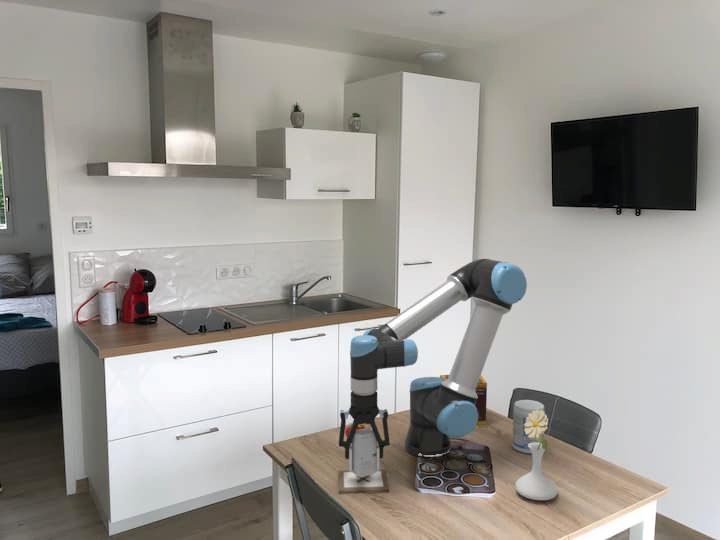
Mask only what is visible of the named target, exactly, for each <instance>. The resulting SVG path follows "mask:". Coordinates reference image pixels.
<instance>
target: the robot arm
mask: <svg viewBox="0 0 720 540" xmlns="http://www.w3.org/2000/svg"><path fill="white" fill-rule="evenodd" d="M527 285H528V282H527V277H526V276H525V273H524V271H523V270H522V268H520V267H519V266H518V265H516V264H514V263H511V262H508V261H499V260H494V259H490V258H480V259H475V260H472V261H471V262H469V263H466V264H465V265H463V266H462V267H460V268H458V269H456V270H455V271H454V272H453V273H450V274H449V275H448V276H447V278H446V281H444V283H442V284H440V285H439V286H438V287H436V288H434V289H433V290H432V291H431V292H429V293H427V294H426V295H425V296H423V297H422V298H421V299H419V300H418V301H416V302H415V303H413V304H412V305H410V306H408V307H407V308H406V309H404V310H403V311H402V312H400V313H399V314H397V315H396V316H394V317H393V318H391V319H390V320H389V321H387V322H385V324H383V325H381V326H380V327H379V328H376V327H375V328H373V327H372V328H369V329H367V330H365V331H364V333H363V334H362V335H361V334H360V335H356V336H353V337H352V338H351V341H350V348H349V349H350V350H349V355H350V360H349V361H350V391H351V392H350V406H349V408H348V410H347V409H346V410H343V409H341V410H340V411H339V416H340V420H341V421H340V427H339V428H340V429H339V435H338V446H339V447H340V448H342V447H343V448H344V459H345V460H348V467H349V468H348V470H349V471H352V444H351V442H352V439H353V437H354V434H355V432H356V429H357V427H358V425H359V424H362V425H365V424H366V425H370V427H371V429H372V430H373V432H374V435H375V437H376V440H377V471H379V470H380V459H383V458H384V447H386V446H387V447H388V446H390V445H391V443H390V435H389V426H388V418H389V412H388V409H387V408H386V409H380V408H379V407H378V370H384V369H393V368H401V367H409V366H414V365H415V364H416V363H417V361H418V357H419V350H418V347H417V343H416V342H415V341H414V340H413V339H410V337H411V336H412V335H414V334H415V333H417V332H418V331H419V330H420V329H423V327H425V326H426V325H428V324H429V323H431V322H432V321H434V320H435V319H437V318H438V317H439V316H440V315H442V314H443V313H446V312H447V311H448V310H449V309H451V308H452V307H454V306H455V305H457V304H458V303H459V302H461V301H462V302H466V301H468V300H470V299H471V298H472V299H473V302H474V304H475V305H474V309H473V310H472V311H473V312H472V313H471V316H470V319H469V322H468V324H467V327H466V329H465V332H464V336H463V337H462V340H461V344H460V346H459V349H458V351H457V354H456V357H455V359H454V362H453V364H452V367H451V370H450V372H449V374H448V375H449V377H448V379H447V380H445V379H444V378H440V376H423V377H418V378H415V379H413V380H412V381H411V382H410V386H409V426H408V430H407V432H406V435H405V438H404V449H405V451H407V453H409V454H411V455H413V456H415V457H419V456H418V454H419V453H421V454H423V455H436V454H442V453H445V452H447V451H448V450H449V449H450V448H451V446H452V439H451V438H455V439H458V438H462V437H464V436H465V435H468V434H470V433H471V432H472V431H473V430H474V429H475V427H476V426H477V425H476V424H477V421H478V412H477V409H476V407H475V404H476V401H477V398H478V396H477V394H476V392H475V389H476V386H477V383H478V381H479V378H480V375H481V376H482V372H483V370H484V367H485V365H486V362H487V359H488V356H489V354H490V350H491V348H492V345H493V343H494V340H495V338H496V335H497V333H498V329H499V326H500V325H501V322H502V321H501V320H502V318H503V316H504V315H506V314H508V313H510V312H511V309H512V307H513V305H514V304H517V303H518V302H519V301H521V300H522V299H523V298H524V296H525V294H526V292H527ZM408 338H409V339H408ZM378 415H379V416H380V419H381V420H382V426H383V427H382V429H383V437H384V440H382V437H381V434H380V432H379V429H378V426H377V424H376V421H375V419H376V418H377V417H378ZM349 416H350V417H351V418H352V419H353V420H352V423H353V424H352V426H351V425H350V426H351V429H350V431H349V434H348V437H347V436H346V440H345V434H346V433H345V432H346V424H347V422H346V420H347V419H348V418H349Z"/></svg>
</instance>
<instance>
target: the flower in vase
mask: <svg viewBox="0 0 720 540" xmlns="http://www.w3.org/2000/svg"><path fill="white" fill-rule="evenodd" d="M524 425H525V426H526V427H525V430H524V431H525V432H526V433H525V434H526V435H527V434H529V435H528V437H529V438H533V439H535V440H536V441H537V442H538V443H536V442H534V443H529V444H528V447H529V448H530V450H531V453H530V454H531V458H532V469H531V471H530V472H528V473H527V474H524V475H522V476H521V477H519V478H518V479H517V480H516V482H515V483H514V488H515V490H516V492H517V493H518V494H519V495H520V496H522V497H524V498H527V499H530V500H534V501H549V500H552V499H553V498H555V497H556V496H557V495H558V493H559V490H558V486H557V485H556V484H555V482H554V481H553V480H551V479H550V478H549V477H547V476H546V475H545V474H544V473H543V471H542V459H543V455H544V453H545V452H546V451H550V448H549V441H548V439H544V438H545V437H544V434H545V432H546V431H547V430H548V425H549V418H548V416H547V414H546V413H545V411H544V412H543V411H542V410H541V411H538V410H536V411H533V412H532V414H529V415H528V417H527V418H526V423H525V424H524ZM541 435H542V441H541V440H540V438H539V437H541Z"/></svg>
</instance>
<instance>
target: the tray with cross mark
mask: <svg viewBox="0 0 720 540" xmlns="http://www.w3.org/2000/svg"><path fill="white" fill-rule="evenodd" d="M368 493H369V494H370V493H371V494H372V493H376V494H377V493H390V486H389V480H388V474H387V470H386V469H379V471H377V472H376V473H374V474H370V475H367V476H363V477H358V476H356V475H355V474H354V473H353V472H352V471H349V469H348V470H338V494H368Z"/></svg>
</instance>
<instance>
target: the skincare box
mask: <svg viewBox="0 0 720 540" xmlns="http://www.w3.org/2000/svg"><path fill="white" fill-rule="evenodd" d="M351 445H352V472H353V473H354V474H355V475H356V476H358V477H363V476H367V475H370V474H374V473H376V472H377V445H378V442H377V440H376V437H375V435H374V432H373V430H372V428H370V427H368V428H367V427H366V429H361V430H357V431H356V432H355V434H354V437H353V439H352V444H351Z"/></svg>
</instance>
